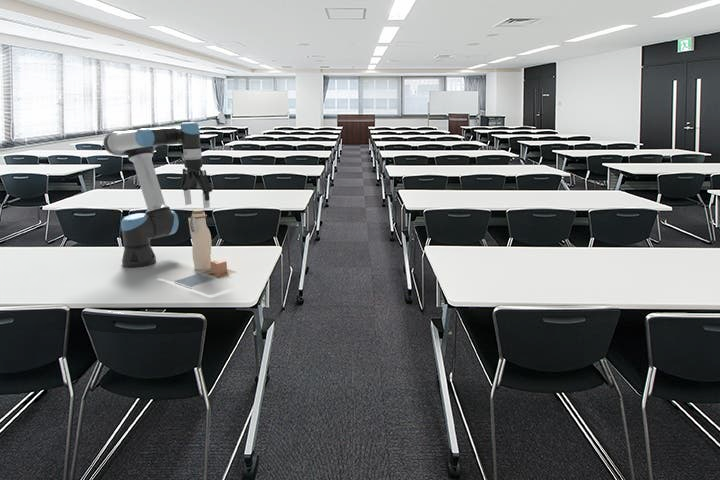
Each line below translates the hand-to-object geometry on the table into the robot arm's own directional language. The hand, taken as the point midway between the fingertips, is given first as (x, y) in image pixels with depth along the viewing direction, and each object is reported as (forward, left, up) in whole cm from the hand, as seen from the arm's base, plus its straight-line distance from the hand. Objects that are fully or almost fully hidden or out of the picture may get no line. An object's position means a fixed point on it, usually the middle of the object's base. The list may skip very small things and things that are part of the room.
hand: (197, 206), depth 234 cm
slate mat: (+12, -13, -30) cm, 35 cm away
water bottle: (0, 0, -30) cm, 30 cm away
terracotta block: (+12, 0, -29) cm, 31 cm away
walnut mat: (+12, 0, -30) cm, 32 cm away
